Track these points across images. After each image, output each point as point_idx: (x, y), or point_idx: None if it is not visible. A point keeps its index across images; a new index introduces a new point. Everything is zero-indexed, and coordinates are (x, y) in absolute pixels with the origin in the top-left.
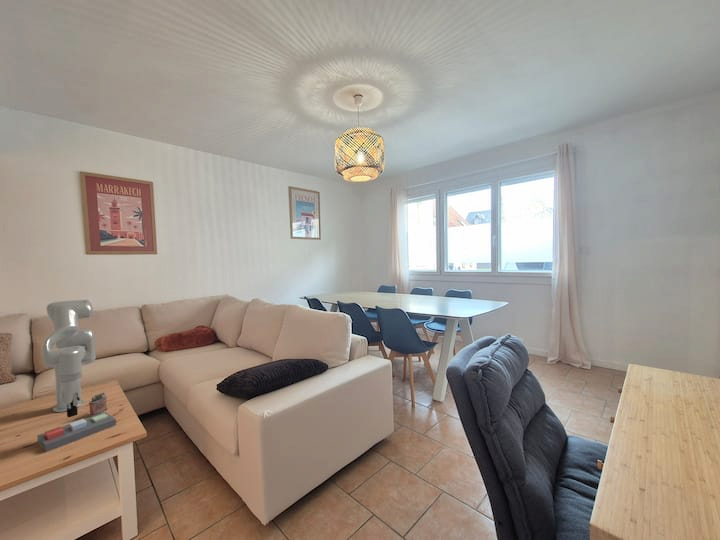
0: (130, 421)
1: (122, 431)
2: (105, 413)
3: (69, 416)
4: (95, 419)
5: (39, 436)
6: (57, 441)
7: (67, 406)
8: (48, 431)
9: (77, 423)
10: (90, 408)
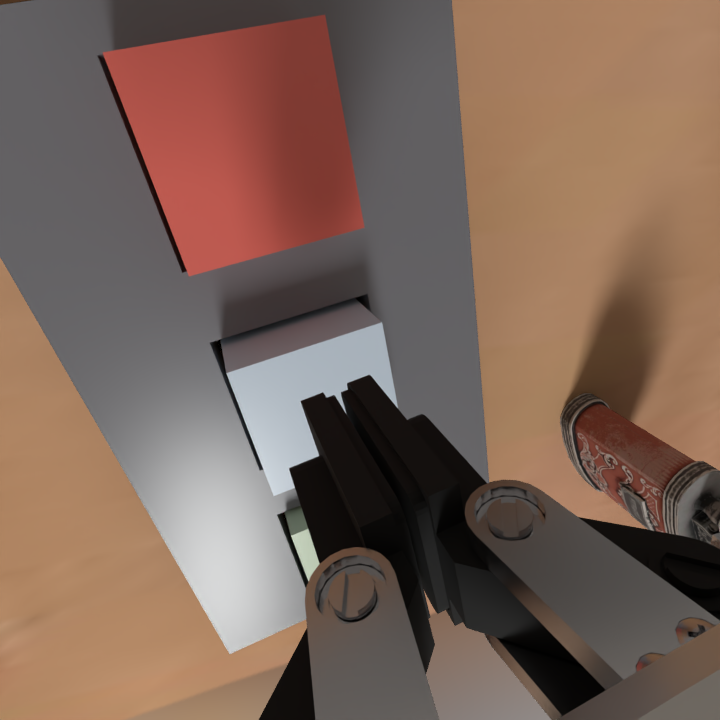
0: (213, 672)
1: (13, 677)
2: None
3: (307, 418)
4: None
5: None
6: None
7: (485, 537)
8: (303, 73)
9: (299, 410)
10: (639, 443)
